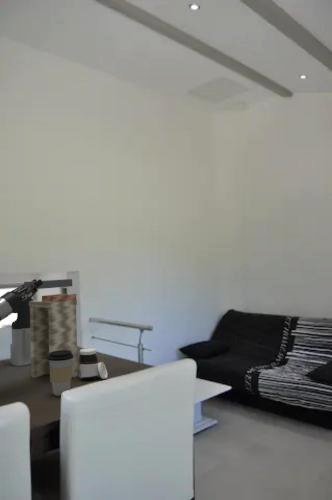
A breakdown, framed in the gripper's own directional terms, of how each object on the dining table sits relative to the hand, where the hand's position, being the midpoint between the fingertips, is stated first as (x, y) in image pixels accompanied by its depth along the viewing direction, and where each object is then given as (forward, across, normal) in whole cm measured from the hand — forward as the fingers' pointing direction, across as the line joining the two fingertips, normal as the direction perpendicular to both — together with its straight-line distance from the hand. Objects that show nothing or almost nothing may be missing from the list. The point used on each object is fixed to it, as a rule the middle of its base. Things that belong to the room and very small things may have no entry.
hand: (38, 281), depth 172 cm
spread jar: (-6, -12, +44) cm, 46 cm away
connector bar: (+3, 0, +5) cm, 6 cm away
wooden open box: (-12, +4, +40) cm, 42 cm away
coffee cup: (-23, -18, +34) cm, 45 cm away
